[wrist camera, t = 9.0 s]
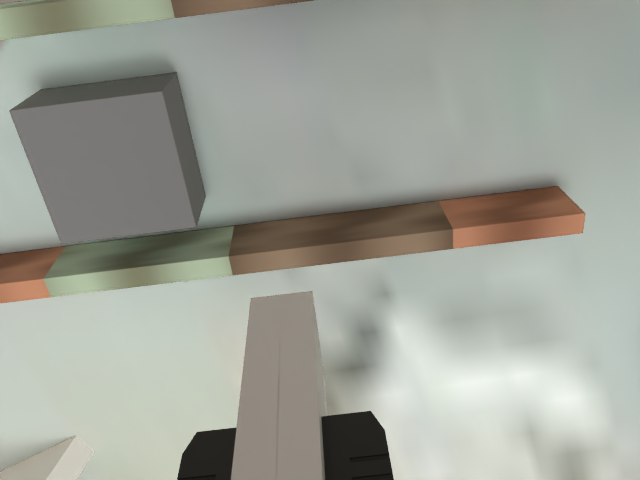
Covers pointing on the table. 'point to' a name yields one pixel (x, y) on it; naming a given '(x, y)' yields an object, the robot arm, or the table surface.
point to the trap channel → (266, 237)
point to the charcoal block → (113, 157)
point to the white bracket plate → (52, 463)
